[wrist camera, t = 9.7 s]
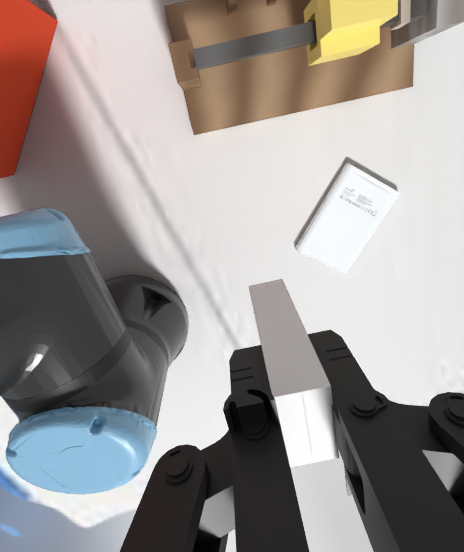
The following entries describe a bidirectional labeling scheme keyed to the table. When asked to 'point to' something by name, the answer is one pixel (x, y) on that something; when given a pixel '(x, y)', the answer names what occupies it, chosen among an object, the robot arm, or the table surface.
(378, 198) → the external hard drive
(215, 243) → the table surface
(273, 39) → the comb stand
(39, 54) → the file binder
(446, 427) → the robot arm
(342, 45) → the sleeve
